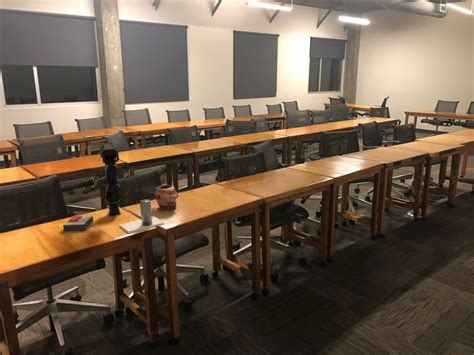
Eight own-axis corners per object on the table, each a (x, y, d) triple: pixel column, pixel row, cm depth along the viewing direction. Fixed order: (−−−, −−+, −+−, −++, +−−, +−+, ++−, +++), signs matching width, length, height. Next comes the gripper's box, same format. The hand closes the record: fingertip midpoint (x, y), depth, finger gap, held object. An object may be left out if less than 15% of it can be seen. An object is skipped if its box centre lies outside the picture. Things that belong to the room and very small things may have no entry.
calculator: (93, 214, 213) (84, 223, 198) (93, 222, 214) (84, 231, 199) (72, 215, 212) (62, 224, 198) (73, 222, 213) (63, 232, 198)
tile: (128, 233, 195) (128, 231, 195) (119, 226, 204) (119, 224, 204) (164, 224, 207) (163, 222, 207) (154, 217, 216) (154, 216, 216)
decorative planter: (147, 207, 234) (145, 185, 230) (163, 202, 243) (161, 181, 240) (169, 214, 222) (167, 191, 218) (184, 208, 231) (183, 186, 227)
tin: (140, 226, 202) (138, 202, 198) (143, 222, 207) (141, 199, 204) (150, 226, 201) (148, 202, 198) (153, 222, 207) (151, 199, 203)
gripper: (94, 169, 209) (97, 196, 213) (95, 177, 193) (99, 206, 196) (115, 167, 213) (118, 194, 217) (118, 175, 196) (121, 203, 200)
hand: (114, 199), depth 208 cm, fingers closed
